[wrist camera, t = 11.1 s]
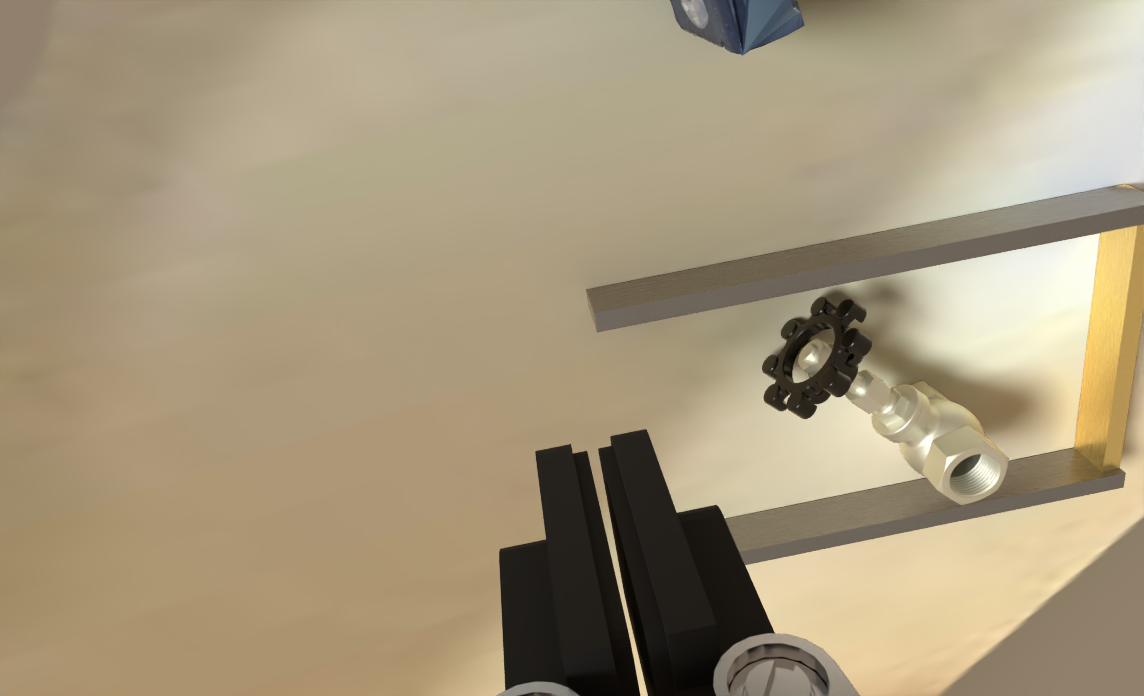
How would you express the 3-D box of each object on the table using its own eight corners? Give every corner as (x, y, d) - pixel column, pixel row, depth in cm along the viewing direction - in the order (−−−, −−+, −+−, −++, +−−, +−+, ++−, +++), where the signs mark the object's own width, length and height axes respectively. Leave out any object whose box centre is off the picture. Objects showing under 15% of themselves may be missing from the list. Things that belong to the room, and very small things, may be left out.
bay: (1124, 183, 43) (1168, 200, 40) (1088, 458, 51) (1123, 487, 48) (586, 289, 42) (594, 313, 40) (631, 551, 50) (640, 586, 47)
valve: (978, 382, 48) (825, 274, 44) (1049, 445, 42) (881, 327, 38) (897, 467, 50) (744, 371, 46) (955, 538, 44) (785, 435, 40)
